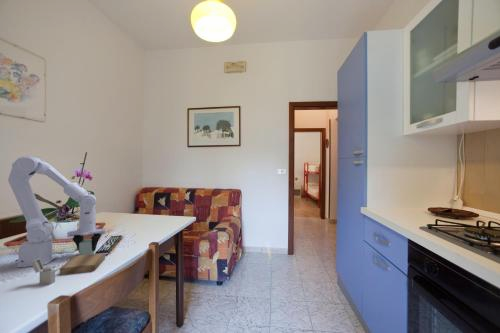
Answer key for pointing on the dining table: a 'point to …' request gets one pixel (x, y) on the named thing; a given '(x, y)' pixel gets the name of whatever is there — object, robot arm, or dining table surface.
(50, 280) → the lighter
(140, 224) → the dining table surface
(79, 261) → the walnut base
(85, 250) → the teal block
